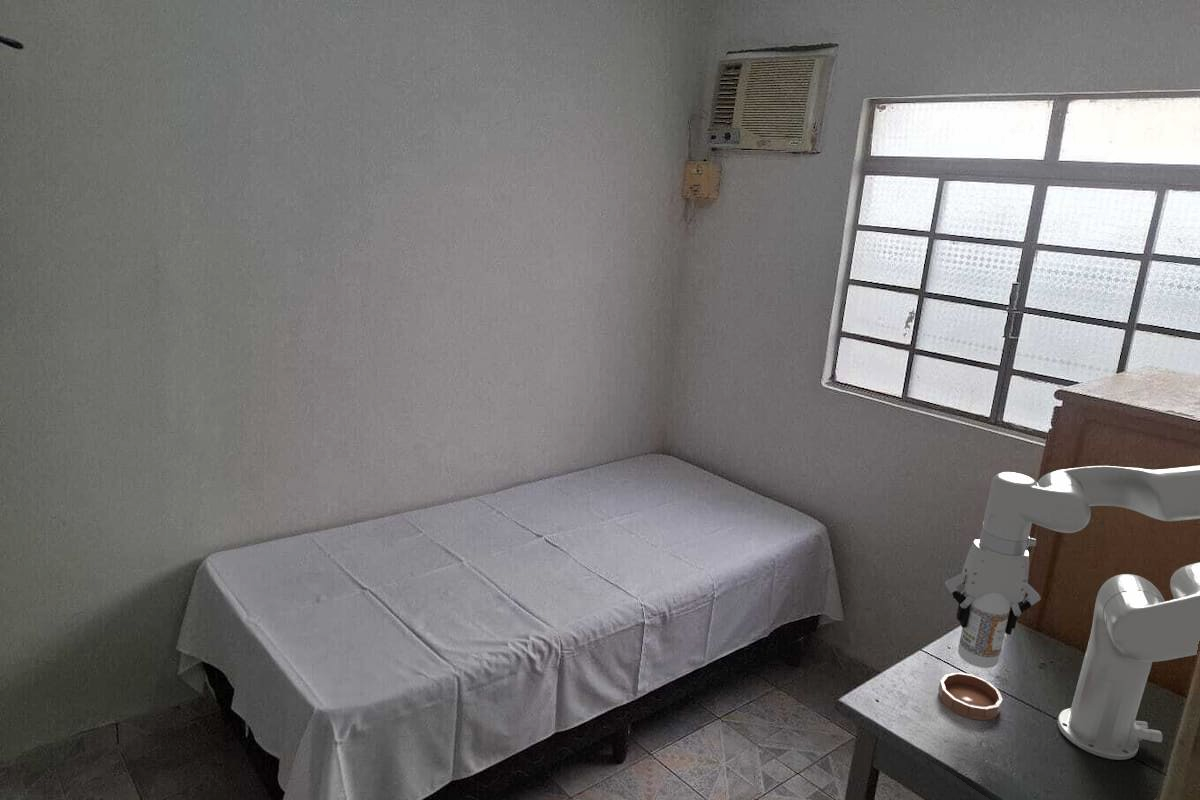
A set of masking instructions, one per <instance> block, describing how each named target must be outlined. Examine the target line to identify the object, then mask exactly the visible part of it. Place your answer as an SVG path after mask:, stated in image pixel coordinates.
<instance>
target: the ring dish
mask: <svg viewBox="0 0 1200 800" xmlns="http://www.w3.org/2000/svg"><path fill="white" fill-rule="evenodd" d="M938 697H939V699H940V701H941V703H942V704H943V705H944V706H945V707H946V708H947V709H949V710H950V711H951V712H954V713H955V714H957V715H959V716H960V717H964V718H967V719H969V720H974V721H981V722H982V721H991V720H993V719H995V718H997V716H998V715H999V713H1000V710H1001V709H1002V705H1003V700H1004V699H1003V696H1002V694H1001V692H1000V689H998V688H997V687H996V686H994V685H993V684H992V683H991V682H990V681H988V680H986V679H984V678H981V677H979V676H977V675H975V674H972V673H967V672H966V673H965V672H960V671H959V672H957V671H955V672H950V673H946V674H944V676H943V677H942V678H941V679H940V680H939V685H938Z"/></svg>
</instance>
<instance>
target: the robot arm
mask: <svg viewBox="0 0 1200 800" xmlns="http://www.w3.org/2000/svg"><path fill="white" fill-rule="evenodd" d="M987 498H988V499H987V503H986V507H985V512H984V516H983V522H982V527H981V532H980V535H979V539H974V541H973V542H972V544H971V547H970V548H969V551H968V554H967V556H966V559H965V562H964V565H963V569H962V572H961V573H959V574H957V575H955V576H953V577H951V578H949V579H946V580H945V581H944V584H945V587H946V588H947V590H948V591H949V593H950V594H951V595H952V597H953V598H954V600H956V601H957V604H958V607H957V611H956V620H957V621H958V622H959V623H960V626H961V628H965V627H966V626H967V622H968V617H969V612H970V609H969V607H968V606H969V605H970V603H971V602H972V601H973V600H974V599H975V598H981V597H982V596H984V595H987V594H990V593H998V594H1000V595H1002V596H1003V597H1005V598H1006V600H1007V601H1008V602H1009V603H1010V613H1009V617H1008V621H1007V626H1006V630H1005V634H1006V635H1008V636H1009V635H1010V636H1011V634H1012V630H1013V629H1015V628H1016V625H1017V624H1016V623H1017V620H1018V617H1020V616H1021V615H1022V613H1023V612H1025V611H1027V610H1029V609H1030V608H1031V607H1032V606H1033V605H1035V604H1036V603H1038V602H1039V601H1041V599H1042V597H1041V595H1040V594H1039V593H1038V592H1037V591H1036V590H1035V589H1034V587H1032V586H1031V584H1029V583H1028V582H1029V568H1030V567H1029V566H1030V553H1029V551H1028V548H1029V547H1036V546H1037V539H1036V538H1033V537H1030V535H1031V534H1030V533H1031V529H1032V526H1033V524H1034V525H1037V526H1040V527H1043V528H1044V529H1045V528H1046V529H1048V530H1051V531H1054V532H1058V533H1065V534H1072V533H1073V534H1074V533H1076V532H1079V531H1082V530H1083V529H1084V528H1086V527H1087V526H1088V525H1089V523H1090V521H1091V514H1092V513H1091V508H1090V507H1098V506H1099V507H1100V506H1106V507H1119V508H1124V509H1127V510H1132V511H1133V512H1134V511H1135V512H1137V513H1140V514H1142V515H1144V516H1147V517H1149V518H1152V519H1155V520H1158V521H1159V520H1160V521H1163V522H1177V521H1178V522H1179V521H1188V520H1190V521H1191V520H1199V519H1200V465H1192V466H1180V467H1173V468H1172V467H1171V468H1160V469H1158V468H1157V469H1149V468H1148V469H1147V468H1142V467H1141V468H1140V467H1127V466H1126V467H1124V466H1115V465H1114V466H1111V465H1093V466H1091V465H1090V466H1082V467H1073V468H1066V469H1065V468H1063V469H1058V470H1055V471H1054V470H1053V471H1052V472H1048V473H1046V474H1044V475H1043V476H1042V477H1041V476H1040V478H1039V479H1038V481H1036V480H1035V479H1034V478H1032V477H1030V476H1028V475H1026V474H1023V473H1018V472H1014V471H1013V472H1012V471H1003V472H999V473H996V474H995V475H994V477H993V478H992V481H991V483H990V488H989V494H988V497H987ZM960 585H962V586H964V589H963V590H962V591H960V590H959V589H958V588H957V587H958V586H960ZM1169 587H1170V591H1171V594H1172V597H1173V599H1170V600H1165V598H1164V597H1163V595H1162V593H1161V592H1160V590H1159V589H1158V588H1157V586H1155V585H1154V584H1153V583H1152V582H1151V581H1150V580H1148V579H1146V578H1144V577H1142V576H1140V575H1138V574H1137V575H1136V574H1133V573H1132V574H1130V573H1123V574H1122V573H1121V574H1116V575H1114V576H1112V577H1110V578H1108V579H1107V580H1106V581H1105V582H1104V583H1103V584H1102V585H1101V587H1100V589H1098V592H1097V595H1096V599H1095V604H1094V611H1093V619H1092V623H1091V624H1092V626H1091V630H1090V635H1089V638H1088V639H1089V640H1088V644H1087V647H1086V651H1085V653H1084V654H1085V655H1084V657H1083V661H1082V664H1081V668H1080V669H1081V670H1080V673H1079V676H1078V681H1077V685H1076V689H1075V691H1074V696H1073V700H1072V703H1071V707H1069V708H1068V707H1067V708H1066V709H1063V710H1061V711H1060V712H1059V714H1058V717H1057V726H1058V729H1059V731H1060V732H1061V733H1062V734H1063V736H1065V737H1066V738H1067V740H1069V741H1070V742H1071V743H1072V744H1074V745H1075V746H1077V747H1078V748H1079V749H1081V750H1084V751H1085V752H1087V753H1090V754H1092V755H1094V756H1098V757H1101V758H1105V759H1108V760H1117V761H1118V760H1119V761H1123V760H1129V759H1131V758H1134V757H1135V756H1136V755H1137V753H1138V750H1139V746H1140V744H1139V741H1142V740H1146V741H1147V740H1148V741H1151V742H1158V743H1162V741H1163V733H1162V732H1161V731H1160V730H1159V729H1158V730H1156V729H1152V728H1149V724H1148V722H1147V721H1142V720H1136V719H1137V716H1138V715H1137V714H1138V711H1139V708H1140V704H1141V701H1142V699H1143V694H1144V691H1145V687H1146V685H1147V682H1148V677H1149V675H1150V672H1151V669H1152V665H1153V663H1155V662H1163V661H1171V660H1176V659H1179V658H1180V659H1181V658H1185V657H1192V656H1196V655H1198V654H1197V650H1198V644H1199V641H1200V561H1199V562H1195V563H1191V564H1187V565H1184V566H1181V567H1180V568H1178V569H1177V570H1175V571H1174V572H1173V573H1172V576H1171V577H1170V582H1169ZM1026 594H1027V596H1026Z"/></svg>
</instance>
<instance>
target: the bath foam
mask: <svg viewBox="0 0 1200 800" xmlns="http://www.w3.org/2000/svg"><path fill="white" fill-rule="evenodd" d="M968 607H969V609H970V612H969V617H968V622H967V626H966V627H965V628H962V627H961V628H962V629H961V633H960V639H959V643H958V648H957V652H958V655H959V657H960V658H961V659H962V660H963V661H965V662H966V663H968V664H969V665H972V666H974V667H977V668H981V669H989V668H994V667H996V666H997V665H998V664H999V663H998V662H999V661H1000V655H1001V651H1002V647H1003V643H1004V638H1005V634H1006V632H1005V630H1006V626H1007V621H1008V617H1009V613H1010V603H1009V602H1008V601H1007V600H1006V598H1005V597H1003V596H1002V595H1000V594H998V593H990V594H987V595H984V596H982V597H981V598H975V599H974V600H973V601H972V602H971V603H970V605H969V606H968Z"/></svg>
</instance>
